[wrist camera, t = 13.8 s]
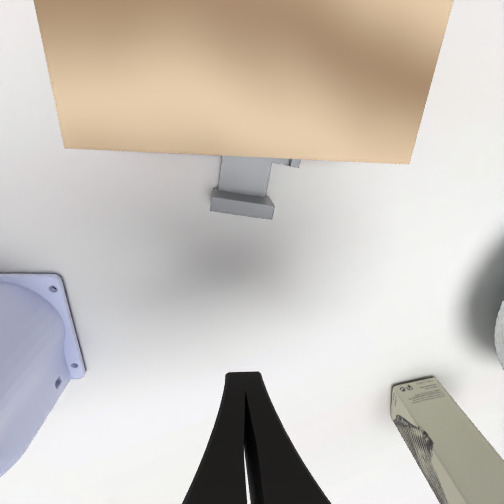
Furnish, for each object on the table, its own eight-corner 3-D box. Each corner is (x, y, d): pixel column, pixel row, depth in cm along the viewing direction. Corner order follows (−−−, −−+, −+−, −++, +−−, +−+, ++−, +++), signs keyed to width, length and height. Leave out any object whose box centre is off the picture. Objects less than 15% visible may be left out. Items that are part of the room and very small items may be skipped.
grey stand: (283, 210, 19) (302, 238, 14) (193, 197, 18) (181, 221, 13) (323, 30, 15) (368, -17, 10) (210, 2, 14) (202, -64, 9)
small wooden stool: (343, 151, 17) (409, 164, 11) (127, 140, 16) (64, 148, 10) (370, -3, 14) (481, -106, 8) (107, -31, 13) (-4, -179, 7)
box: (390, 383, 27) (518, 584, 15) (435, 374, 27) (599, 568, 15) (389, 418, 29) (500, 617, 17) (431, 410, 29) (570, 603, 17)
